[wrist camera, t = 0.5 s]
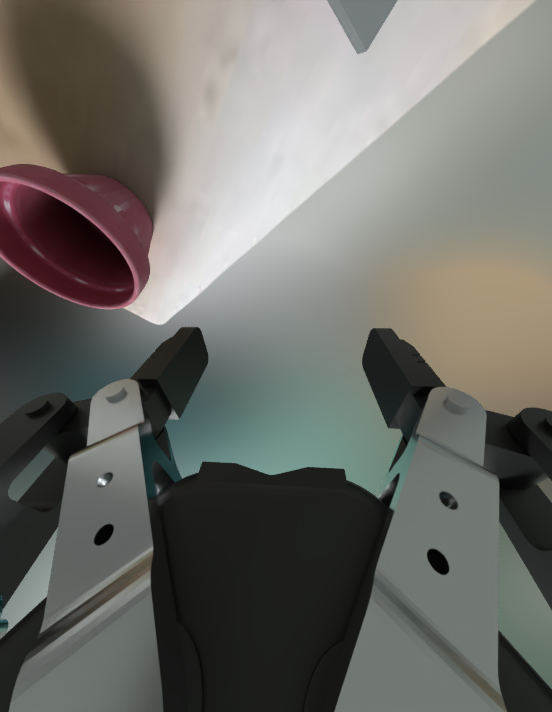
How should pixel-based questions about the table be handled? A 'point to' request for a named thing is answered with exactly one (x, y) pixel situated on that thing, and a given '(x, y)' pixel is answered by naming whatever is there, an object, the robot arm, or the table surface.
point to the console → (361, 19)
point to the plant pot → (75, 234)
